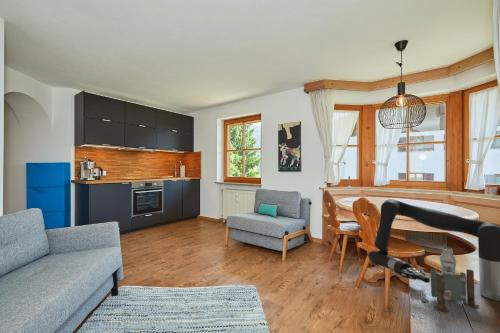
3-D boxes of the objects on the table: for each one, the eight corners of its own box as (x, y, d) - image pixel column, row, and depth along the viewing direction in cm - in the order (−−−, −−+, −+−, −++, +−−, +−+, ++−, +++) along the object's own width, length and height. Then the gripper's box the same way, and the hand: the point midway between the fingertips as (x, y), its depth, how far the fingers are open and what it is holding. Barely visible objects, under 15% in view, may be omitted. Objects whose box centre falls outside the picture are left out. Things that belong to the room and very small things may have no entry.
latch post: (442, 306, 107) (441, 271, 107) (451, 312, 103) (450, 275, 103) (433, 308, 106) (432, 272, 106) (443, 313, 102) (441, 276, 102)
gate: (465, 300, 109) (464, 272, 109) (466, 302, 108) (465, 274, 108) (431, 295, 114) (430, 268, 114) (432, 296, 113) (431, 270, 113)
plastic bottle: (461, 293, 118) (459, 250, 119) (444, 292, 120) (443, 250, 120) (453, 287, 125) (451, 246, 125) (437, 286, 126) (436, 246, 127)
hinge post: (470, 302, 110) (468, 268, 110) (479, 307, 106) (477, 271, 107) (463, 303, 109) (462, 269, 109) (472, 308, 106) (470, 272, 106)
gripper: (388, 260, 132) (415, 273, 115) (409, 258, 135) (439, 271, 118) (388, 275, 132) (416, 290, 115) (410, 272, 135) (440, 287, 118)
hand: (428, 280), depth 117 cm, fingers closed
